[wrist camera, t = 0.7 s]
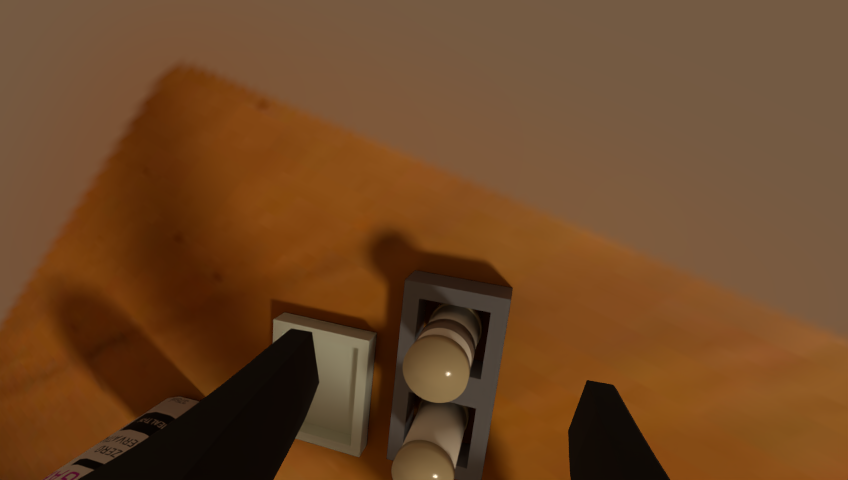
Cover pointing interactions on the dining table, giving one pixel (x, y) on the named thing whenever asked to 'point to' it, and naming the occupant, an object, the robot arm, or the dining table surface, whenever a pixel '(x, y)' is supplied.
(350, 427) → the parts tray
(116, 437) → the supplement can
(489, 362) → the block
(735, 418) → the dining table surface
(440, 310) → the fuse
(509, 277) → the dining table surface
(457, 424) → the cylinder
